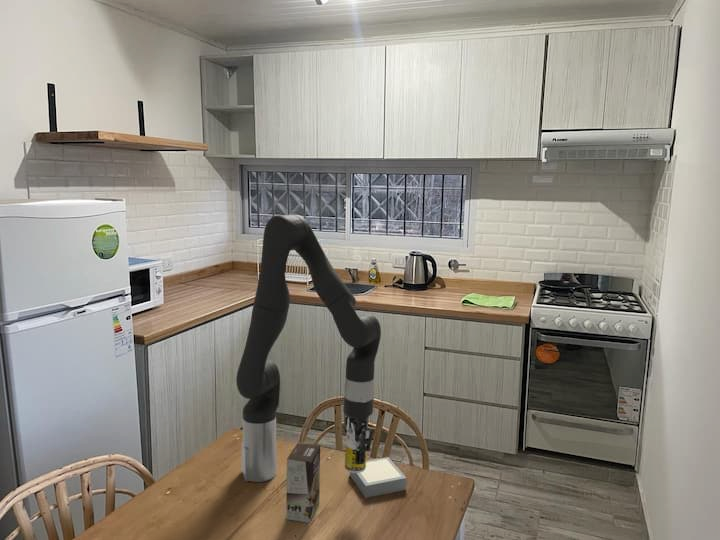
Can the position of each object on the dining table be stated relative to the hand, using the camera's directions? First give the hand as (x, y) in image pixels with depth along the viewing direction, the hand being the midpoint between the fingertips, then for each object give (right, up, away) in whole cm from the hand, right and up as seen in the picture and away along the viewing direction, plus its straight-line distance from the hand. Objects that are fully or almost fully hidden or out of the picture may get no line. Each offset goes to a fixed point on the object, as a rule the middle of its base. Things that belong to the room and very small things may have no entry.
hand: (355, 457), depth 137 cm
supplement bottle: (0, -3, +1) cm, 3 cm away
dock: (+6, -12, +14) cm, 19 cm away
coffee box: (-13, -14, 0) cm, 19 cm away
